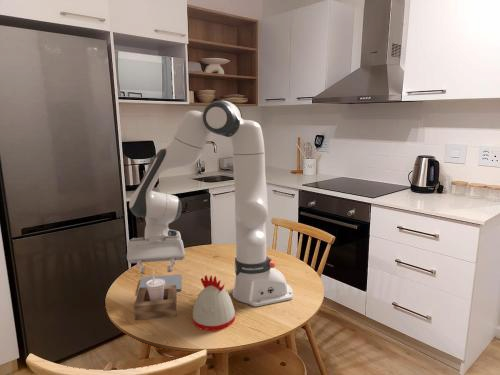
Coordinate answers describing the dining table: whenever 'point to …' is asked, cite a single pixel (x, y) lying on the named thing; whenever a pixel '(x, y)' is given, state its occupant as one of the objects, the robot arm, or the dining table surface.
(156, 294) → the smoothie
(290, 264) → the dining table surface
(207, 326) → the kitchen timer
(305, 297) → the dining table surface
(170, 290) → the holder collar
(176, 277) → the rubber mat
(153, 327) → the dining table surface
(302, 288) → the dining table surface
